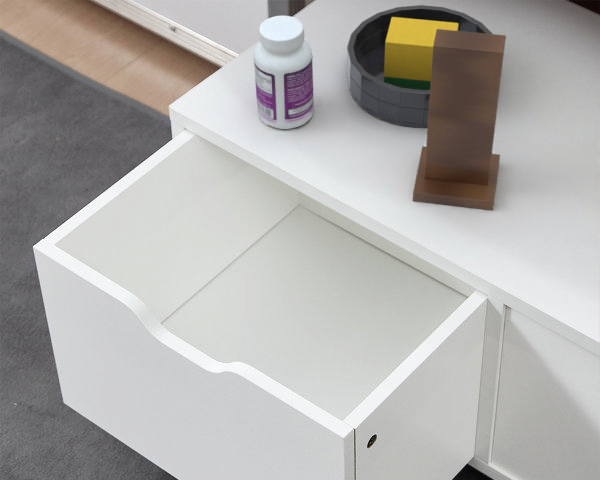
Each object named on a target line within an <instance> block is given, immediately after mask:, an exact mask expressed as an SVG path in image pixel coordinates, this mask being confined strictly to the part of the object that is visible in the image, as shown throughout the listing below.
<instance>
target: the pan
mask: <svg viewBox="0 0 600 480" xmlns="http://www.w3.org/2000/svg"><path fill="white" fill-rule="evenodd" d="M392 17H399V18H409V19H420V20H431V21H442V22H452V23H458V24H459V26H458V31H464V32H475V33H485V34H494V33H493V32H491V30H490V29H488V27H487V26H486V25H485V24H484V23H483V22H482V21H480V20H478V19H476V18H474V17H472V16H470V15H469V14H466V13H464V12H461V11H459V10H454V9H451V8H447V7H445V6H435V5H426V4H425V5H424V4H417V5H406V6H396V7H393V8H389V9H386V10H382V11H379V12H377V13H375V14H374V15H372V16H370V17H367V18H366V19H365V20H363V21H361V22H360V23H359V24H358V26H357V27H356V28H355V29H354V30H353V31H352V32H351V34H350V36H349V39H348V43H347V46H346V79H347V87H348V91H349V93H350V95H351V98H352V99H353V100H354V102H355V103H356V104H357V105H358V106H359V107H360V108H361V109H362V110H363V111H365V112H366V113H368V114H369V115H371V116H373V117H375V118H376V119H379V120H381V121H383V122H386V123H389V124H391V125H392V124H393V125H396V126H401V127H407V128H408V127H409V128H417V129H418V128H419V129H424V128H426V129H428V114H429V100H430V90H417V89H408V88H401V87H398V86H394V85H391V84H388V83H385V82H384V67H385V42H386V38H387V34H388V30H389V26H390V22H391V18H392Z"/></svg>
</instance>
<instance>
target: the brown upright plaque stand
mask: <svg viewBox="0 0 600 480" xmlns="http://www.w3.org/2000/svg"><path fill="white" fill-rule="evenodd" d="M506 39H507V36H506V35H505V34H495V33H493V34H485V33H475V32H464V31H453V30H443V29H437V30H436V35H435V40H434V44H433V56H432V70H431V85H430V100H429V114H428V128H426V130H427V131H426V145H425V146H424V145H423V146H422V147H421V152H420V156H419V160H418V161H419V162H418V167H417V171H416V177H415V180H414V181H415V182H414V187H413V190H412V191H413V192H412V193H413V194H412V201H413V202H419V203H428V204H436V205H437V204H438V205H445V206H446V205H447V206H453V207H456V206H457V207H463V208H470V209H471V208H472V209H480V210H488V211H493V210H494V203H495V195H496V189H497V181H498V174H499V165H500V159H501V155H500V154H498V153H493V148H494V142H495V141H494V140H495V132H496V125H497V123H496V122H497V117H498V116H497V115H498V106H499V98H500V90H501V82H502V81H501V80H502V73H503V66H504V65H503V64H504V54H505V49H506V48H505V47H506V41H507V40H506Z"/></svg>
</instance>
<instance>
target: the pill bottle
mask: <svg viewBox="0 0 600 480" xmlns="http://www.w3.org/2000/svg"><path fill="white" fill-rule="evenodd" d="M304 28H305V27H304V24H303V23H302V21H301V20H300V19H298V18H296V17H293V16H291V15H275V16H272V17H269V18H267V19H265V20H263V21H262V22H261V24H260V26H259V32H258V33H259V38H258V40H259V42H258V43H257V45H256V46H255V48H254V50H253V68H254V81H255V95H256V108H257V114H258V116H259V120H261V121H262V122H263V123H264V124H266V125H268V126H269V127H272V128H276V129H280V130H289V129H295V128H297V127H298V128H299V127H301V126H303V125H305V124H306V123H307V122H308V121H309V120H310V119H312V117H313V115H314V109H315V106H314V105H315V103H314V102H315V101H314V100H315V99H314V97H315V95H314V71H313V68H314V67H313V52H312V48H311V45H310V44H309V43H308V42H307V41H306V40H305V29H304Z"/></svg>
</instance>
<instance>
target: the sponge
mask: <svg viewBox="0 0 600 480" xmlns="http://www.w3.org/2000/svg"><path fill="white" fill-rule="evenodd" d="M458 26H459V24H458V23H452V22H442V21H431V20H420V19H409V18H399V17H392V18H391V22H390V26H389V30H388V34H387V38H386V42H385V67H384V82H385V83H388V84H391V85H394V86H398V87H401V88H408V89H417V90H430V85H431V70H432V56H433V44H434V40H435V35H436V30H437V29H443V30H453V31H458Z"/></svg>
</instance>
